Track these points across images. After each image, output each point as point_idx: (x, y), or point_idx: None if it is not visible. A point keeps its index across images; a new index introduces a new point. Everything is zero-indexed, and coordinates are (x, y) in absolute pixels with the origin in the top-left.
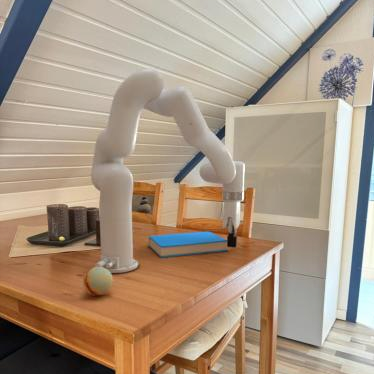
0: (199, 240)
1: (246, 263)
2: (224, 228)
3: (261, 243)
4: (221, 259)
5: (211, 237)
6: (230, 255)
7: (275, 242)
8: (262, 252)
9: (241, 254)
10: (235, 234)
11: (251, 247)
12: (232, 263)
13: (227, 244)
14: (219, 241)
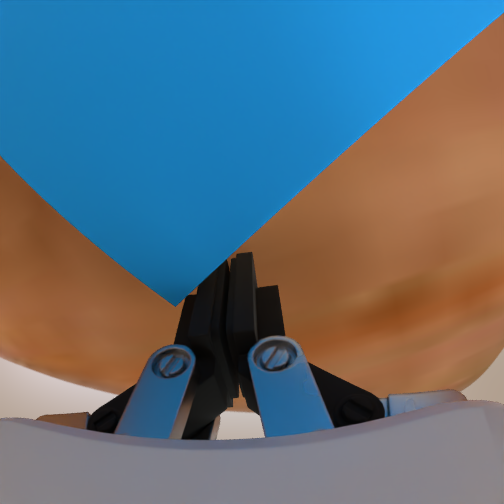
0: (9, 13)
1: (56, 376)
2: (29, 430)
3: (463, 352)
4: (11, 272)
5: (240, 30)
6: (102, 296)
7: (472, 381)
8: None
9: None
10: (212, 426)
11: (376, 348)
12: (13, 331)
13: None
14: (85, 234)
